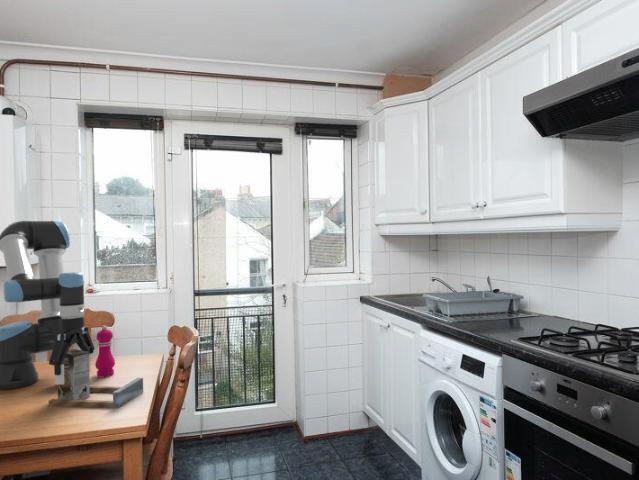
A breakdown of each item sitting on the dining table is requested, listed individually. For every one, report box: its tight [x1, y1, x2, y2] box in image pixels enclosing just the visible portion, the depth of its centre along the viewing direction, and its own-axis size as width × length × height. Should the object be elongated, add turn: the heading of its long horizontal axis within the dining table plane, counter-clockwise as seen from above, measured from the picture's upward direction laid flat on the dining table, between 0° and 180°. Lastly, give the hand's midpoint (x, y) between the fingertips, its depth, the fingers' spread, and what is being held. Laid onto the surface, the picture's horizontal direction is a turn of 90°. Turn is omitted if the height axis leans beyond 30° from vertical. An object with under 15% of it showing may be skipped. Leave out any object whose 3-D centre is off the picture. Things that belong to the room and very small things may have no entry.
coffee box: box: [57, 348, 91, 400], centre depth 154 cm, size 9×6×16 cm
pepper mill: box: [94, 325, 116, 378], centre depth 181 cm, size 7×7×20 cm
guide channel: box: [48, 377, 144, 409], centre depth 153 cm, size 25×15×5 cm, turn 83°
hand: (73, 378), depth 154 cm, fingers open, 13 cm apart
